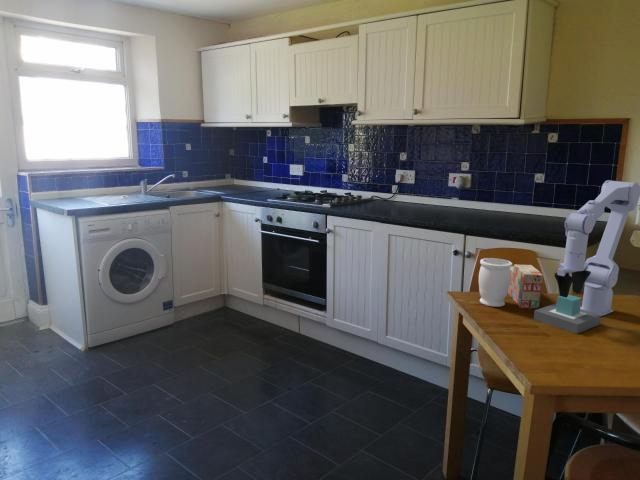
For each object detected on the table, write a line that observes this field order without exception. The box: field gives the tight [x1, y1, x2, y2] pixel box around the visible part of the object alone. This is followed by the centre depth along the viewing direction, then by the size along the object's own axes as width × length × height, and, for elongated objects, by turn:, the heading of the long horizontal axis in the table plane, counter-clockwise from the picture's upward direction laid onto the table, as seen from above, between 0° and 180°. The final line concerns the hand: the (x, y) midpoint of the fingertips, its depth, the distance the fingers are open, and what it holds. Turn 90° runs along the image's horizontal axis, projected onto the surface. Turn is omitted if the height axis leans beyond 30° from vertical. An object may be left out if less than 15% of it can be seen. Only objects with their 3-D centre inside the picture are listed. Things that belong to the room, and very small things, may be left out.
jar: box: [478, 257, 513, 308], centre depth 174 cm, size 11×10×15 cm
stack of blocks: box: [507, 264, 544, 309], centre depth 180 cm, size 21×6×12 cm, turn 175°
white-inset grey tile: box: [533, 302, 602, 335], centre depth 159 cm, size 14×14×3 cm
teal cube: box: [556, 294, 583, 316], centre depth 158 cm, size 5×5×5 cm
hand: (570, 294), depth 157 cm, fingers open, 7 cm apart
